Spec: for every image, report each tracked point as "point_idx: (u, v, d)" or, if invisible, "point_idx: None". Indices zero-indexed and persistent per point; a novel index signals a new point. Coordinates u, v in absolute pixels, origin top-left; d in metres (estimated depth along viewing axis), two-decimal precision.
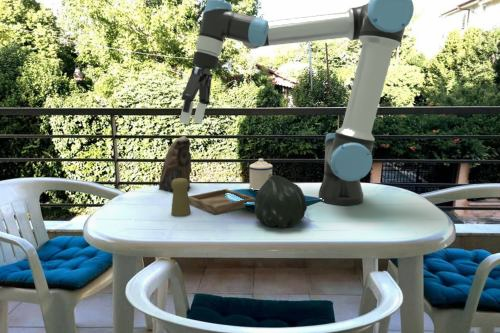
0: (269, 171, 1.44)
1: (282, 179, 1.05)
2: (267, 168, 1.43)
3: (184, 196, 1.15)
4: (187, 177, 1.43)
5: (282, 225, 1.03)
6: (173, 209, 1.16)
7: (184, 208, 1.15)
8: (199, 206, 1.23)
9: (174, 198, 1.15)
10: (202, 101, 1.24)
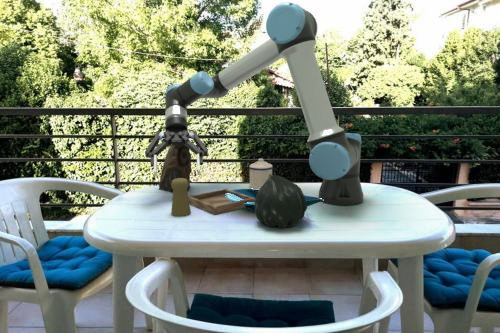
0: (269, 171, 1.44)
1: (282, 179, 1.05)
2: (267, 168, 1.43)
3: (184, 196, 1.15)
4: (187, 177, 1.43)
5: (282, 225, 1.03)
6: (173, 209, 1.16)
7: (184, 208, 1.15)
8: (199, 206, 1.23)
9: (174, 198, 1.15)
10: None
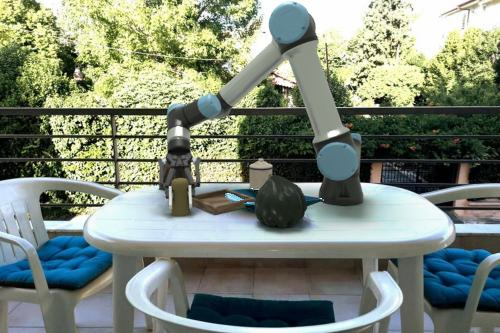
0: (269, 171, 1.44)
1: (282, 179, 1.05)
2: (267, 168, 1.43)
3: (184, 196, 1.15)
4: None
5: (282, 225, 1.03)
6: (173, 209, 1.16)
7: (184, 208, 1.15)
8: (199, 206, 1.23)
9: (174, 198, 1.15)
10: None
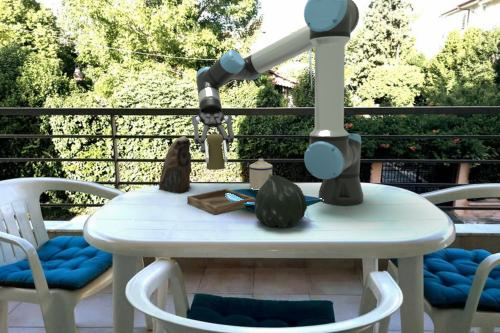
0: (269, 171, 1.44)
1: (282, 179, 1.05)
2: (267, 168, 1.43)
3: (219, 150, 1.21)
4: (187, 177, 1.43)
5: (282, 225, 1.03)
6: (208, 163, 1.21)
7: (219, 162, 1.21)
8: (199, 206, 1.23)
9: (210, 152, 1.21)
10: None
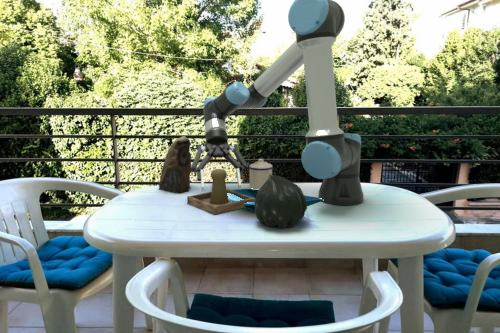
0: (269, 171, 1.44)
1: (282, 179, 1.05)
2: (267, 168, 1.43)
3: (223, 185, 1.25)
4: (187, 177, 1.43)
5: (282, 225, 1.03)
6: (212, 198, 1.25)
7: (223, 197, 1.25)
8: (199, 206, 1.23)
9: (214, 187, 1.25)
10: None
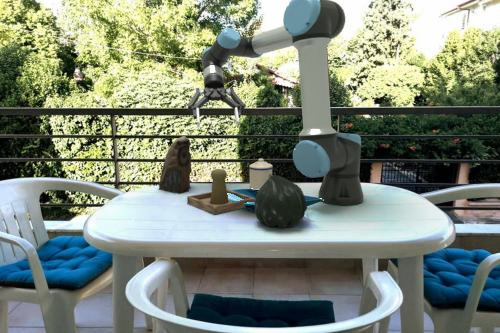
0: (269, 171, 1.44)
1: (282, 179, 1.05)
2: (267, 168, 1.43)
3: (223, 185, 1.25)
4: (187, 177, 1.43)
5: (282, 225, 1.03)
6: (212, 198, 1.25)
7: (223, 197, 1.25)
8: (199, 206, 1.23)
9: (214, 187, 1.25)
10: None
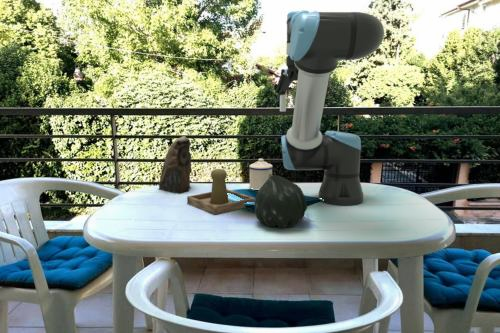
0: (269, 171, 1.44)
1: (282, 179, 1.05)
2: (267, 168, 1.43)
3: (223, 185, 1.25)
4: (187, 177, 1.43)
5: (282, 225, 1.03)
6: (212, 198, 1.25)
7: (223, 197, 1.25)
8: (199, 206, 1.23)
9: (214, 187, 1.25)
10: None
